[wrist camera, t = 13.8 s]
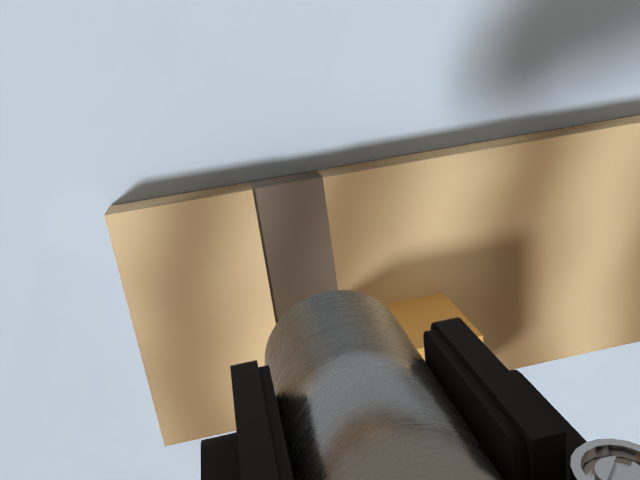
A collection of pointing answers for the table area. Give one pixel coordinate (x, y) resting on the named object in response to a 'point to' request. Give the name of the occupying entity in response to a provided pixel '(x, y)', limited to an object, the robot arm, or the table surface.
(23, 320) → the table surface
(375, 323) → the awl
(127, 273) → the board
